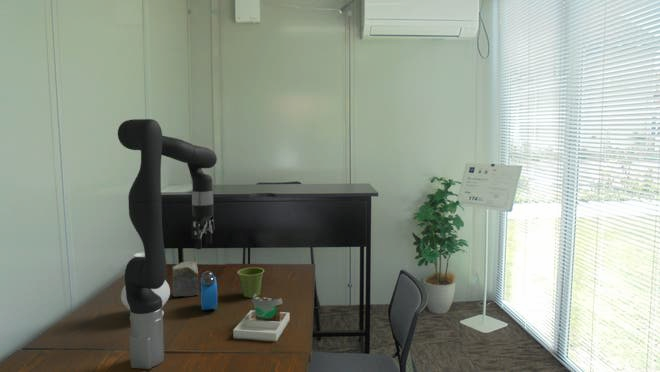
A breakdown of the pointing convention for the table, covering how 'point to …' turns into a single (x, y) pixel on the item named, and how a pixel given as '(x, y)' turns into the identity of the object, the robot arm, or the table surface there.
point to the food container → (267, 308)
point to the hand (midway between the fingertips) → (203, 246)
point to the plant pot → (251, 281)
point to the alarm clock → (208, 291)
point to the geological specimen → (185, 279)
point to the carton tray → (260, 328)
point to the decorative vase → (162, 291)
